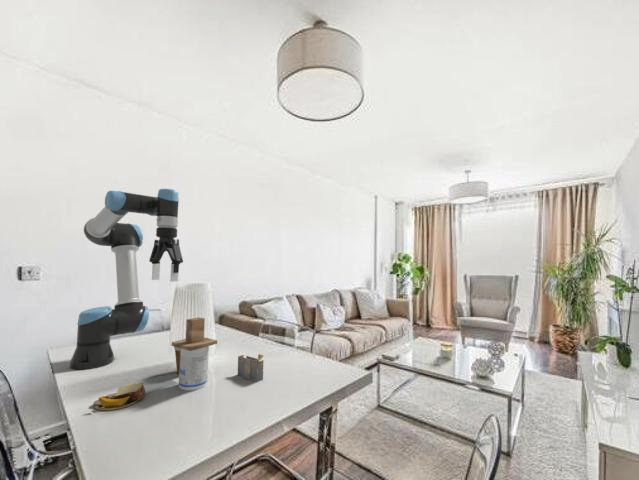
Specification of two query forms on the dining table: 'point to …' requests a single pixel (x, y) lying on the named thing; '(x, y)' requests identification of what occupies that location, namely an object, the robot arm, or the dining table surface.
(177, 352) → the disposable coffee cup
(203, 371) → the supplement tub
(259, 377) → the ruin model on sheet
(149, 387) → the grey square tile
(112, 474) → the dining table surface
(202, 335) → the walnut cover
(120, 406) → the toy sandwich meal
